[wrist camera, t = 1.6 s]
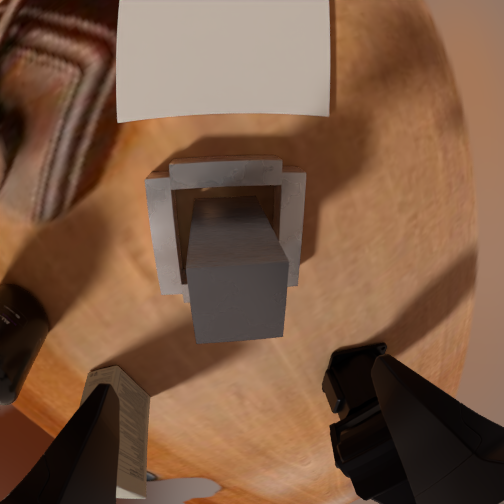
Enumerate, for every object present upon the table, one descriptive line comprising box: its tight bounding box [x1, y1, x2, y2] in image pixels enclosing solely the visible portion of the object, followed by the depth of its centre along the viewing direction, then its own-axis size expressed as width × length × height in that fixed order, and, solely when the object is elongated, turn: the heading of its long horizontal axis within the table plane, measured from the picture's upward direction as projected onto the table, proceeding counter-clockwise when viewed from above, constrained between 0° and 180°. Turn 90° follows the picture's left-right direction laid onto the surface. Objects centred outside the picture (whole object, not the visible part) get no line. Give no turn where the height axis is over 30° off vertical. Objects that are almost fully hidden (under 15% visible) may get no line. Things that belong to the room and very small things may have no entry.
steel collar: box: [145, 155, 306, 303], centre depth 19 cm, size 10×10×2 cm
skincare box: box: [80, 365, 150, 499], centre depth 21 cm, size 6×4×12 cm
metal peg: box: [186, 196, 289, 344], centre depth 16 cm, size 4×4×9 cm
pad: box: [116, 0, 330, 123], centre depth 13 cm, size 13×13×1 cm
